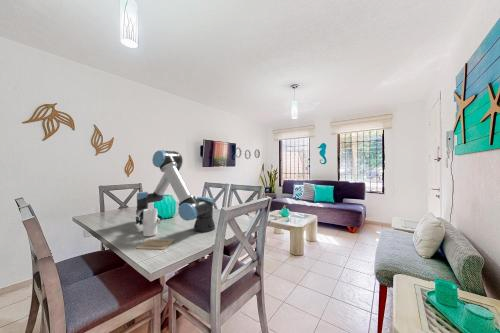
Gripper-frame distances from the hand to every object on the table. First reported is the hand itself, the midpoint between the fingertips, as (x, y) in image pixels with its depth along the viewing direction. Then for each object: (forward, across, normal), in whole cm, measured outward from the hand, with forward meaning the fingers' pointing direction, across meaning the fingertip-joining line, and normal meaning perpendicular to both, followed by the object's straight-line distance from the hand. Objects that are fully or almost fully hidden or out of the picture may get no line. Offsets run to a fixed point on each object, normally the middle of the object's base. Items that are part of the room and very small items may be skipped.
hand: (152, 222), depth 125 cm
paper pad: (+13, +1, -9) cm, 16 cm away
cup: (-5, 0, -9) cm, 10 cm away
